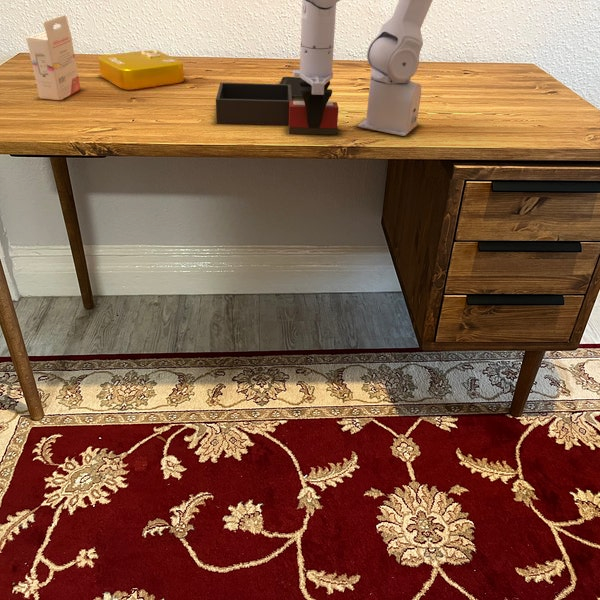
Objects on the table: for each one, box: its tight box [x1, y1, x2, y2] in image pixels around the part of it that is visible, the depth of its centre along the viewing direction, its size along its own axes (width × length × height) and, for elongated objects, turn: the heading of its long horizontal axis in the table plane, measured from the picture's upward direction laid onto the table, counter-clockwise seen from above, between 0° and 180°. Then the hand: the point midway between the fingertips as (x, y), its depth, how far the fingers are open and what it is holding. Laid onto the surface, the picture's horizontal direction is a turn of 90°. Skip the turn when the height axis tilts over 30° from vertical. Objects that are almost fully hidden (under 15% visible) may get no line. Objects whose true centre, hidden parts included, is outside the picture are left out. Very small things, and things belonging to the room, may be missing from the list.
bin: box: [215, 82, 292, 126], centre depth 116 cm, size 14×12×4 cm
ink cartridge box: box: [25, 14, 81, 101], centre depth 120 cm, size 9×5×15 cm, turn 168°
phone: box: [279, 76, 304, 101], centre depth 131 cm, size 8×1×15 cm
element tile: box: [98, 49, 185, 91], centre depth 134 cm, size 15×15×5 cm
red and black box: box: [288, 101, 340, 136], centre depth 109 cm, size 9×3×5 cm, turn 92°
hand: (313, 123), depth 110 cm, fingers closed on red and black box, 3 cm apart
